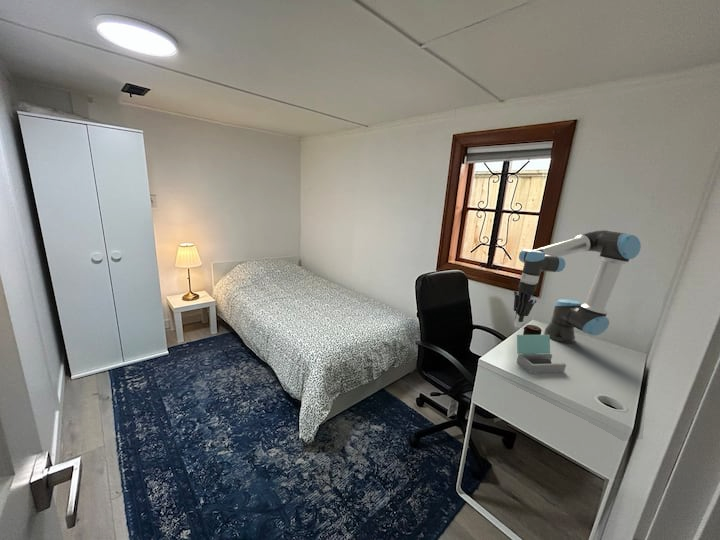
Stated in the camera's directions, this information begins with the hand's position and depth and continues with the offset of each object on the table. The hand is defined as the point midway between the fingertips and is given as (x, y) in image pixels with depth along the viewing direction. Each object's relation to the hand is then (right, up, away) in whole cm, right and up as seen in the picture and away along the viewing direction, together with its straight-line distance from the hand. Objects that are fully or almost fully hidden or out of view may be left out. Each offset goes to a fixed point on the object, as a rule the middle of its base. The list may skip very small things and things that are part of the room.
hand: (517, 326), depth 150 cm
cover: (+6, -8, -5) cm, 11 cm away
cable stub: (+7, -18, -8) cm, 21 cm away
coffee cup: (+10, -14, +7) cm, 18 cm away
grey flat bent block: (+6, -18, -9) cm, 21 cm away
